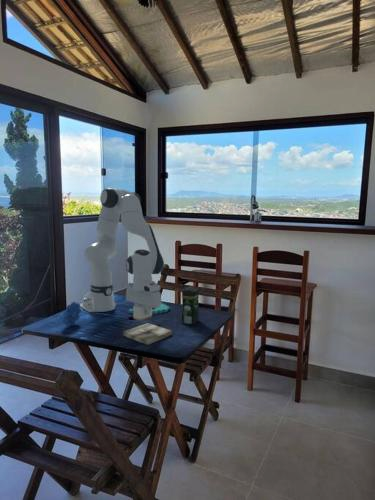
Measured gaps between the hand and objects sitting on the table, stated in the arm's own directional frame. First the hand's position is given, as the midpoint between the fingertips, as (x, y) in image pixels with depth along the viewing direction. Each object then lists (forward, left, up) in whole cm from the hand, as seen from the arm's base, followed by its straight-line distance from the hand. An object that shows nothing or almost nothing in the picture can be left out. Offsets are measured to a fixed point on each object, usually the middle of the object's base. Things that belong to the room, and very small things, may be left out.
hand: (142, 313), depth 169 cm
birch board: (+4, 0, -10) cm, 10 cm away
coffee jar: (+7, +28, -10) cm, 30 cm away
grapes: (-34, -16, -10) cm, 39 cm away
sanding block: (0, 0, -2) cm, 2 cm away
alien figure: (-23, +30, -11) cm, 39 cm away
